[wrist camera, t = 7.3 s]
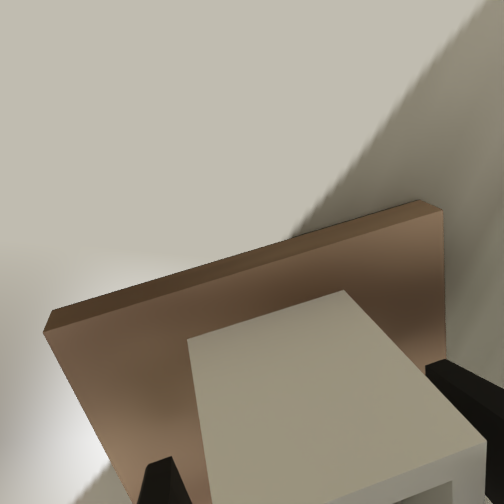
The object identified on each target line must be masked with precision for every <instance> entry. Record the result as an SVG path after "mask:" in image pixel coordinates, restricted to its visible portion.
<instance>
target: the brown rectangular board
mask: <svg viewBox="0 0 504 504" xmlns="http://www.w3.org/2000/svg"><path fill="white" fill-rule="evenodd" d="M342 290H344V291H345V292H346V293H347V294H348V295H349V296H350V297H351V298H352V299H353V300H354V301H355V302H356V303H357V304H358V305H359V306H360V307H361V308H362V310H363V311H364V312H365V313H366V314H367V315H368V316H369V317H370V318H371V319H372V320H373V321H374V322H375V323H376V324H377V325H378V326H379V327H380V329H381V330H382V331H383V332H384V333H385V334H386V335H387V336H388V337H389V338H390V339H391V340H392V341H393V342H394V343H395V344H396V345H397V346H398V348H399V349H400V350H401V351H402V352H403V353H404V354H405V355H406V356H407V357H408V358H409V359H410V360H411V361H412V362H413V363H414V364H415V365H416V367H417V368H418V369H419V370H420V371H421V372H422V373H423V374H424V375H425V365H428V364H431V363H434V362H436V361H439V360H442V359H446V323H445V278H444V234H443V210H442V209H440V208H437V207H435V206H433V205H430V204H428V203H426V202H423V201H421V200H417V201H414V202H411V203H407V204H404V205H401V206H397V207H394V208H391V209H387V210H384V211H381V212H377V213H374V214H371V215H367V216H364V217H361V218H357V219H354V220H351V221H347V222H344V223H341V224H337V225H334V226H331V227H327V228H324V229H321V230H317V231H314V232H311V233H307V234H304V235H301V236H298V237H294V238H291V239H288V240H284V241H281V242H278V243H274V244H271V245H268V246H265V247H261V248H258V249H254V250H251V251H248V252H244V253H241V254H238V255H235V256H231V257H228V258H224V259H221V260H218V261H214V262H211V263H208V264H204V265H201V266H198V267H195V268H192V269H188V270H185V271H181V272H178V273H174V274H172V275H168V276H165V277H161V278H158V279H155V280H151V281H148V282H145V283H141V284H138V285H135V286H131V287H128V288H125V289H121V290H118V291H115V292H111V293H108V294H105V295H101V296H98V297H95V298H91V299H88V300H85V301H81V302H78V303H75V304H72V305H68V306H65V307H61V308H59V309H55V310H52V312H51V314H50V317H49V319H48V321H47V324H46V326H45V328H44V331H43V334H44V336H45V338H46V340H47V342H48V343H49V345H50V347H51V349H52V351H53V353H54V355H55V357H56V358H57V361H58V363H59V364H60V366H61V368H62V370H63V372H64V374H65V376H66V378H67V379H68V382H69V383H70V385H71V387H72V389H73V391H74V393H75V395H76V397H77V399H78V400H79V402H80V404H81V406H82V408H83V410H84V412H85V414H86V416H87V418H88V419H89V421H90V423H91V425H92V427H93V429H94V431H95V433H96V435H97V436H98V439H99V440H100V442H101V444H102V446H103V448H104V450H105V452H106V454H107V456H108V458H109V459H110V461H111V463H112V465H113V467H114V469H115V471H116V473H117V475H118V477H119V478H120V480H121V482H122V484H123V486H124V488H125V490H126V492H127V494H128V496H129V497H130V499H131V501H132V503H133V504H137V501H138V497H139V494H140V490H141V486H142V482H143V477H144V473H145V469H146V467H147V465H148V464H150V463H153V462H155V461H158V460H161V459H164V458H167V457H170V456H172V458H173V460H174V462H175V465H176V467H177V469H178V472H179V474H180V476H181V479H182V481H183V483H184V486H185V488H186V490H187V492H188V495H189V497H190V499H191V502H192V504H212V498H211V492H210V485H209V479H208V472H207V466H206V459H205V453H204V446H203V440H202V433H201V427H200V420H199V414H198V407H197V401H196V394H195V388H194V382H193V375H192V369H191V362H190V356H189V349H188V343H187V339H190V338H193V337H196V336H199V335H202V334H206V333H209V332H212V331H215V330H218V329H221V328H225V327H228V326H231V325H234V324H237V323H240V322H243V321H247V320H250V319H253V318H256V317H259V316H262V315H266V314H269V313H272V312H275V311H278V310H281V309H285V308H288V307H291V306H294V305H297V304H300V303H304V302H307V301H310V300H313V299H316V298H319V297H323V296H326V295H329V294H332V293H335V292H338V291H342Z"/></svg>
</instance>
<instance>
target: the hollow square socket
mask: <svg viewBox="0 0 504 504" xmlns="http://www.w3.org/2000/svg"><path fill="white" fill-rule="evenodd" d="M187 343H188V349H189V356H190V362H191V369H192V375H193V382H194V388H195V394H196V401H197V407H198V414H199V420H200V427H201V433H202V440H203V446H204V453H205V459H206V466H207V472H208V479H209V485H210V492H211V498H212V504H484V499H485V475H486V451H487V440H486V439H485V438H484V437H483V436H482V435H481V434H480V433H479V432H478V431H477V430H476V429H475V428H474V427H473V426H472V425H471V424H470V422H469V421H468V420H467V419H466V418H465V417H464V416H463V415H462V414H461V413H460V412H459V411H458V410H457V409H456V408H455V407H454V406H453V405H452V403H451V402H450V401H449V400H448V399H447V398H446V397H445V396H444V395H443V394H442V393H441V392H440V391H439V390H438V389H437V388H436V387H435V386H434V384H433V383H432V382H431V381H430V380H429V379H428V378H427V377H426V376H425V375H424V374H423V373H422V372H421V371H420V370H419V369H418V368H417V367H416V365H415V364H414V363H413V362H412V361H411V360H410V359H409V358H408V357H407V356H406V355H405V354H404V353H403V352H402V351H401V350H400V349H399V348H398V346H397V345H396V344H395V343H394V342H393V341H392V340H391V339H390V338H389V337H388V336H387V335H386V334H385V333H384V332H383V331H382V330H381V329H380V327H379V326H378V325H377V324H376V323H375V322H374V321H373V320H372V319H371V318H370V317H369V316H368V315H367V314H366V313H365V312H364V311H363V310H362V308H361V307H360V306H359V305H358V304H357V303H356V302H355V301H354V300H353V299H352V298H351V297H350V296H349V295H348V294H347V293H346V292H345V291H344V290H342V291H338V292H335V293H332V294H329V295H326V296H323V297H319V298H316V299H313V300H310V301H307V302H304V303H300V304H297V305H294V306H291V307H288V308H285V309H281V310H278V311H275V312H272V313H269V314H266V315H262V316H259V317H256V318H253V319H250V320H247V321H243V322H240V323H237V324H234V325H231V326H228V327H225V328H221V329H218V330H215V331H212V332H209V333H206V334H202V335H199V336H196V337H193V338H190V339H187Z"/></svg>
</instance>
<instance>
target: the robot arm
mask: <svg viewBox="0 0 504 504" xmlns="http://www.w3.org/2000/svg"><path fill="white" fill-rule="evenodd" d="M425 376H426V377H427V378H428V379H429V380H430V381H431V382H432V383H433V384H434V386H435V387H436V388H437V389H438V390H439V391H440V392H441V393H442V394H443V395H444V396H445V397H446V398H447V399H448V400H449V401H450V402H451V403H452V405H453V406H454V407H455V408H456V409H457V410H458V411H459V412H460V413H461V414H462V415H463V416H464V417H465V418H466V419H467V420H468V421H469V422H470V424H471V425H472V426H473V427H474V428H475V429H476V430H477V431H478V432H479V433H480V434H481V435H482V436H483V437H484V438H485V439H486V440H487V451H486V475H485V495H486V496H487V497H488V498H489V500H490V501H491V502H492V503H493V504H504V389H503V388H501V387H499V386H497V385H495V384H493V383H491V382H489V381H487V380H485V379H483V378H481V377H479V376H477V375H475V374H474V373H472V372H470V371H468V370H466V369H464V368H462V367H460V366H458V365H456V364H454V363H452V362H451V361H449V360H447V359H442V360H439V361H436V362H434V363H431V364H428V365H425ZM137 504H192V502H191V499H190V497H189V495H188V492H187V490H186V488H185V486H184V483H183V481H182V479H181V476H180V474H179V472H178V469H177V467H176V465H175V462H174V460H173V458H172V456H170V457H167V458H164V459H161V460H158V461H155V462H153V463H150V464H148V465H147V467H146V469H145V473H144V477H143V482H142V486H141V490H140V494H139V497H138V501H137Z"/></svg>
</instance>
